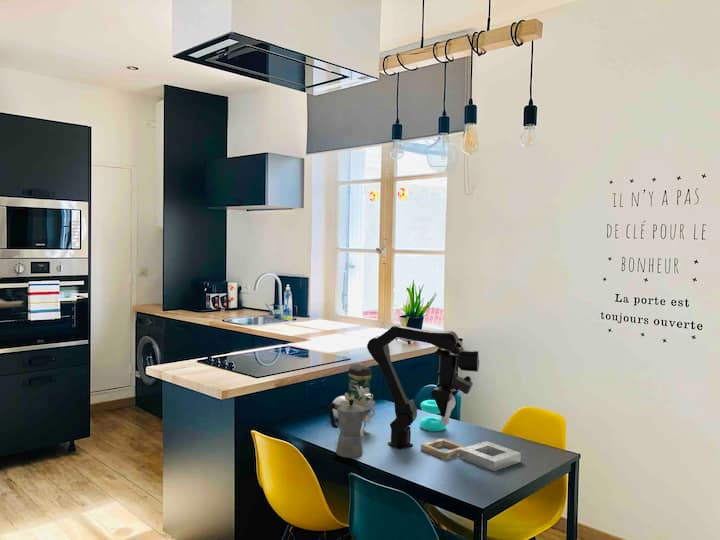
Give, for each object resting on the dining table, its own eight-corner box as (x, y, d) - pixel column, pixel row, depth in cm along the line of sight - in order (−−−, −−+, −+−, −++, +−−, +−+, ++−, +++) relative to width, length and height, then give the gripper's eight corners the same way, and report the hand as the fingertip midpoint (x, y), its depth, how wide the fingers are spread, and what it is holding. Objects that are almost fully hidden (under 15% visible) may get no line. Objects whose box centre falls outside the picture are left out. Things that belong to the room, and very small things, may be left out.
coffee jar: (343, 407, 249) (345, 364, 249) (357, 404, 255) (359, 362, 254) (359, 413, 242) (360, 368, 242) (373, 410, 248) (374, 366, 247)
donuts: (418, 404, 222) (422, 398, 232) (417, 430, 223) (421, 423, 232) (445, 407, 220) (448, 400, 229) (444, 433, 220) (446, 425, 230)
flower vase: (331, 436, 232) (354, 440, 210) (321, 390, 235) (342, 389, 212) (361, 427, 238) (386, 430, 215) (350, 382, 240) (374, 380, 217)
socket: (494, 471, 185) (494, 461, 184) (459, 457, 195) (459, 448, 195) (520, 461, 194) (520, 452, 193) (486, 449, 204) (486, 441, 204)
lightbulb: (454, 428, 196) (455, 395, 196) (434, 426, 198) (436, 393, 197) (454, 422, 203) (456, 391, 202) (436, 420, 204) (437, 389, 203)
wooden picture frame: (445, 459, 193) (445, 453, 193) (420, 450, 201) (420, 444, 201) (466, 453, 200) (467, 447, 200) (442, 443, 208) (442, 438, 208)
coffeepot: (373, 452, 197) (375, 399, 196) (360, 461, 188) (362, 405, 188) (333, 443, 204) (335, 392, 203) (319, 451, 196) (321, 398, 195)
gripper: (465, 376, 188) (463, 425, 188) (476, 366, 205) (474, 410, 206) (431, 372, 192) (429, 420, 193) (445, 362, 209) (443, 406, 210)
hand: (445, 414), depth 200 cm, fingers closed on lightbulb, 6 cm apart
